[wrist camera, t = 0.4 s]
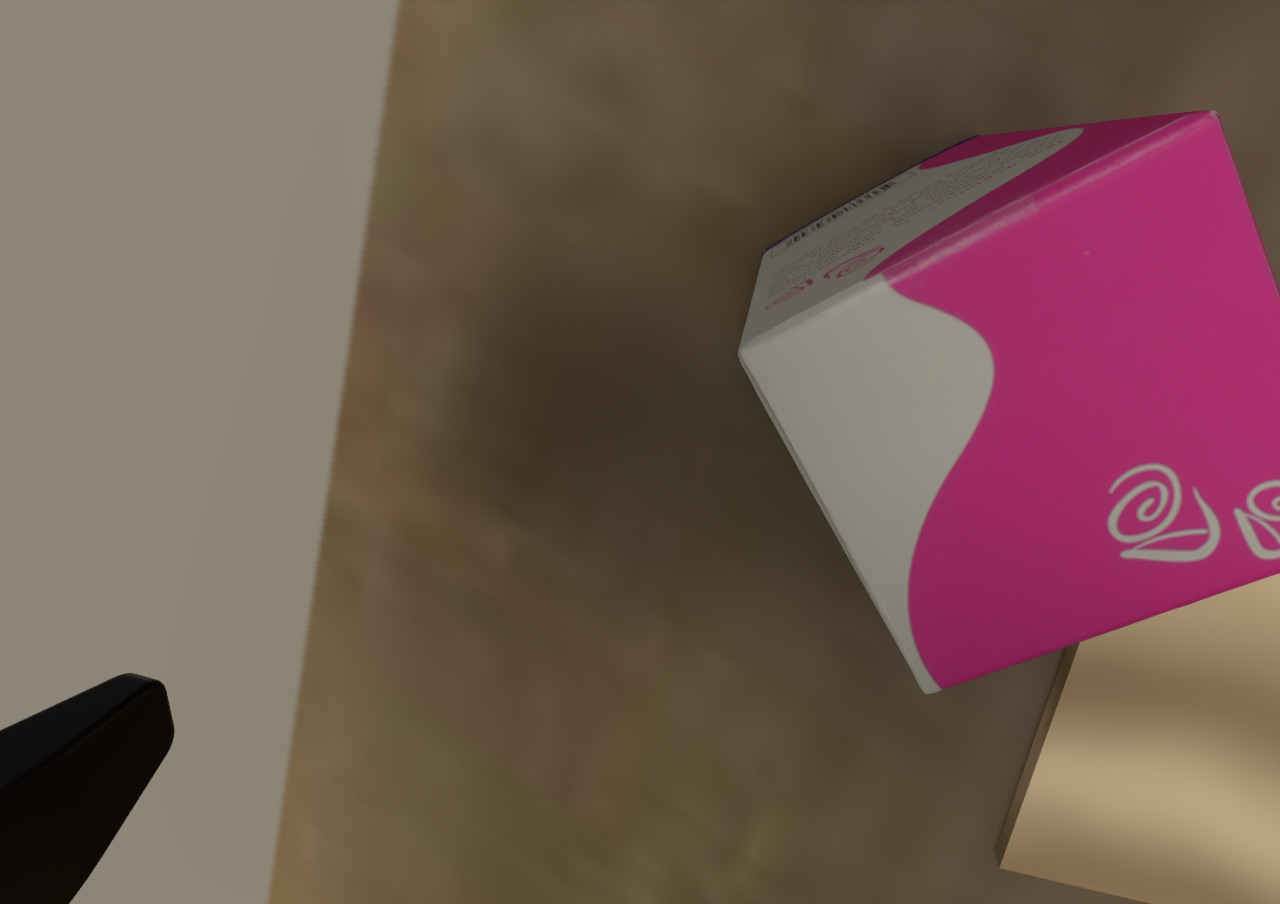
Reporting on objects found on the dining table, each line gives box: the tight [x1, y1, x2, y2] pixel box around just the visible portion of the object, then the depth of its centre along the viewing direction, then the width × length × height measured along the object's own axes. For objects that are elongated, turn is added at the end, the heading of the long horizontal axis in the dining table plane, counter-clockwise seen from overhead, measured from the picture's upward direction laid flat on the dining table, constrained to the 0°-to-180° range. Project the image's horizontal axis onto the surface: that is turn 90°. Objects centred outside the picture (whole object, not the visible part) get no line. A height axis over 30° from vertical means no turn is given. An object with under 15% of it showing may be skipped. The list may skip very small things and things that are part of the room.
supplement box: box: [738, 110, 1280, 694], centre depth 15 cm, size 6×6×12 cm
